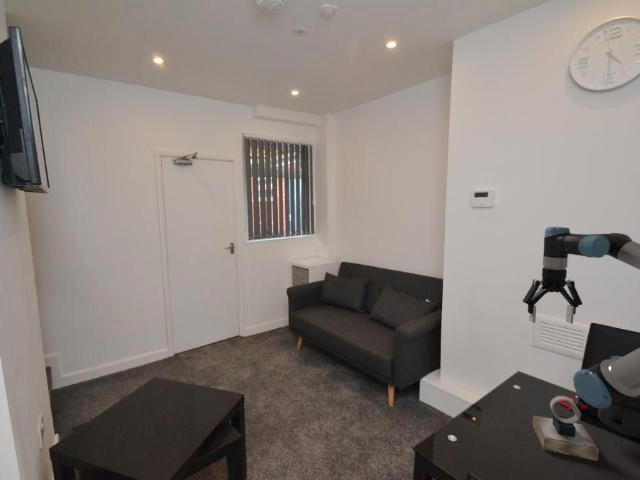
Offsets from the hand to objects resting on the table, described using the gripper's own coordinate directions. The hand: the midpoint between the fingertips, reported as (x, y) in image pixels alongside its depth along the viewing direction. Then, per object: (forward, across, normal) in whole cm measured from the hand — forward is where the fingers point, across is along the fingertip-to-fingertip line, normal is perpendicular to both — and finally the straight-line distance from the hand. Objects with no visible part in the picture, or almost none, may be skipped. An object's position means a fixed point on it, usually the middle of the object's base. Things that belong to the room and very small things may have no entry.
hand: (550, 322), depth 124 cm
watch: (+28, +8, +24) cm, 37 cm away
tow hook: (+32, -8, +2) cm, 33 cm away
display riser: (+32, +8, +24) cm, 40 cm away
